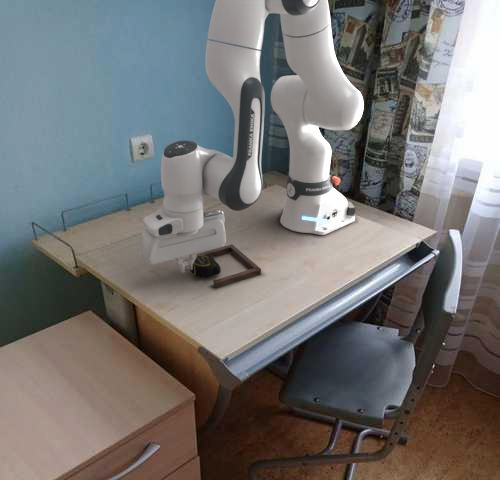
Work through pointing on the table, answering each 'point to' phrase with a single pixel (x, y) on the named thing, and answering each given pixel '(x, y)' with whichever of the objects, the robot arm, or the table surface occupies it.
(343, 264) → the table surface
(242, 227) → the table surface
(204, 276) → the tape measure
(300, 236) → the table surface
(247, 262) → the bay
